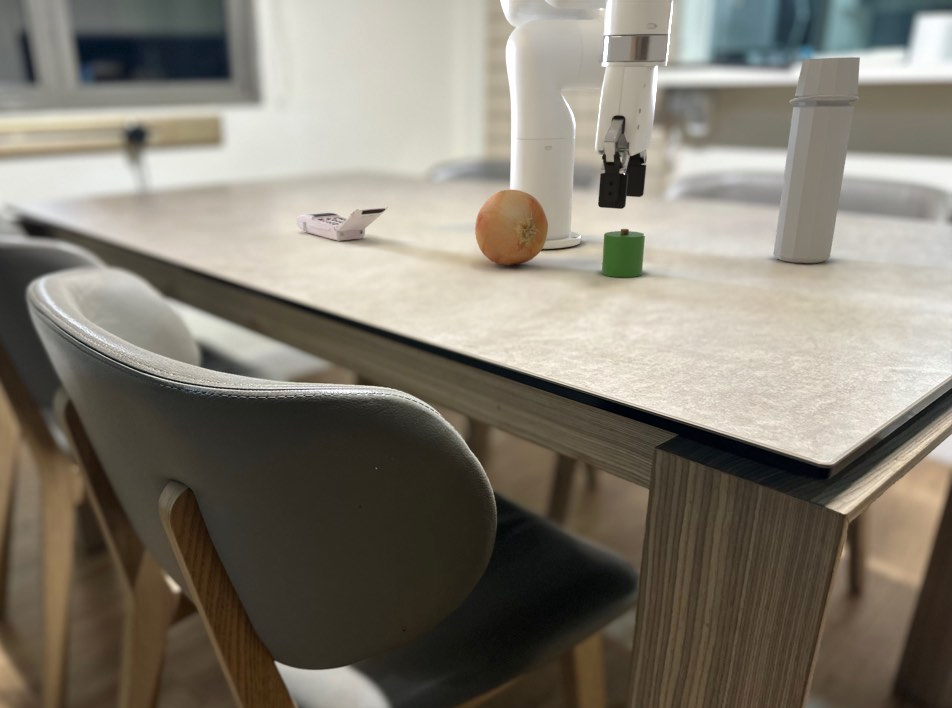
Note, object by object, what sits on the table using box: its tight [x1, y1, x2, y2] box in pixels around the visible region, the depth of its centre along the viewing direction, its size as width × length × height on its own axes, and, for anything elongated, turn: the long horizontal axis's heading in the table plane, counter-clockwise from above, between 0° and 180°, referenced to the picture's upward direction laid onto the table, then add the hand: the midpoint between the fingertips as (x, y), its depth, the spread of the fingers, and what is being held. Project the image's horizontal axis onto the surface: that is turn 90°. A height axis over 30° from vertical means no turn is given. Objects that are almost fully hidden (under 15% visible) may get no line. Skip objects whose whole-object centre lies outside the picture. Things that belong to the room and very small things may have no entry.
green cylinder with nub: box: [601, 228, 646, 278], centre depth 102 cm, size 5×5×6 cm
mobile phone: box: [296, 206, 389, 242], centre depth 136 cm, size 6×6×25 cm
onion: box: [474, 189, 548, 266], centre depth 108 cm, size 10×10×10 cm
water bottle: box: [773, 56, 861, 264], centre depth 105 cm, size 9×8×25 cm
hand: (621, 201), depth 101 cm, fingers open, 9 cm apart
